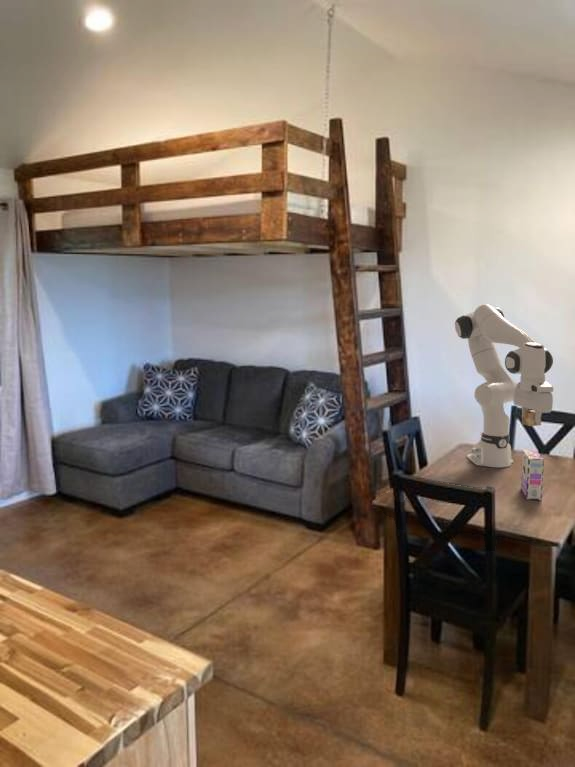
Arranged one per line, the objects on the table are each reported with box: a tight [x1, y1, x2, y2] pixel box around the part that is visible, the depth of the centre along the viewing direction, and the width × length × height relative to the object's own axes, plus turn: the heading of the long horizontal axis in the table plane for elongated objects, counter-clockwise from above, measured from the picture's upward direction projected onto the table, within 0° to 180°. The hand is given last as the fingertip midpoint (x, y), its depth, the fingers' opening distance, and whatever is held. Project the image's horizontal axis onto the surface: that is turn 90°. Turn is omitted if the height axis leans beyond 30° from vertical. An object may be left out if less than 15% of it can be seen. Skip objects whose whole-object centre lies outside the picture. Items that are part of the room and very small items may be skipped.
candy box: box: [520, 449, 545, 501], centre depth 244 cm, size 14×6×16 cm, turn 168°
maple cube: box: [521, 409, 542, 427], centre depth 241 cm, size 5×5×5 cm
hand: (531, 420), depth 241 cm, fingers closed on maple cube, 5 cm apart
